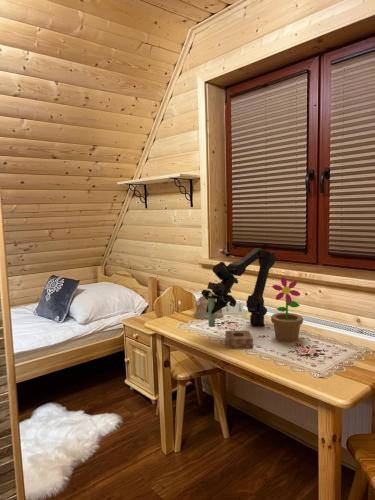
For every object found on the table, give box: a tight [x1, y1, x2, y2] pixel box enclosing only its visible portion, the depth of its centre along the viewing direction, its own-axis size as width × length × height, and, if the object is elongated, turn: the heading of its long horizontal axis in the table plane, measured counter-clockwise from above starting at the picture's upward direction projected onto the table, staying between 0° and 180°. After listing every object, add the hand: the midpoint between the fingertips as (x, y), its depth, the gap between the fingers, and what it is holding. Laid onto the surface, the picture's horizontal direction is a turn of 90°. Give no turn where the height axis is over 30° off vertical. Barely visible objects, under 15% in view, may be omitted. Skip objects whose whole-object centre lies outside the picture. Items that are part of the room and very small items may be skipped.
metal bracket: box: [222, 301, 248, 315], centre depth 219 cm, size 14×6×15 cm
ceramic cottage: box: [194, 295, 224, 320], centre depth 213 cm, size 16×16×15 cm
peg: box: [207, 298, 216, 328], centre depth 171 cm, size 3×3×13 cm
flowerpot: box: [270, 276, 304, 343], centre depth 171 cm, size 14×14×30 cm
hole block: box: [225, 329, 254, 349], centre depth 168 cm, size 11×11×4 cm
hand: (209, 312), depth 170 cm, fingers closed on peg, 3 cm apart
